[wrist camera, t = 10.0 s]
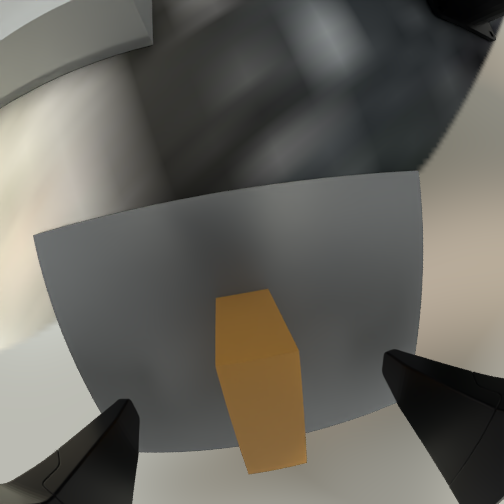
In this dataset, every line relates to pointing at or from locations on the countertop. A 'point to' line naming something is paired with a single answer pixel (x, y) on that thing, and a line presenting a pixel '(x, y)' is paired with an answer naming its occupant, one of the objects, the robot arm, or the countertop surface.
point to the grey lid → (243, 309)
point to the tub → (65, 38)
